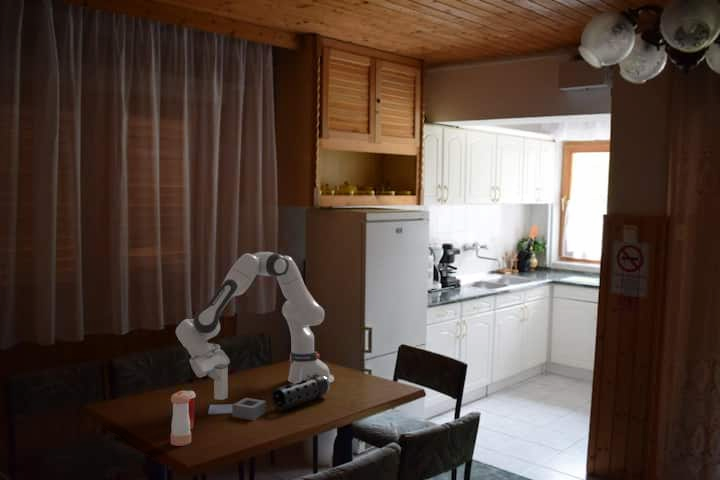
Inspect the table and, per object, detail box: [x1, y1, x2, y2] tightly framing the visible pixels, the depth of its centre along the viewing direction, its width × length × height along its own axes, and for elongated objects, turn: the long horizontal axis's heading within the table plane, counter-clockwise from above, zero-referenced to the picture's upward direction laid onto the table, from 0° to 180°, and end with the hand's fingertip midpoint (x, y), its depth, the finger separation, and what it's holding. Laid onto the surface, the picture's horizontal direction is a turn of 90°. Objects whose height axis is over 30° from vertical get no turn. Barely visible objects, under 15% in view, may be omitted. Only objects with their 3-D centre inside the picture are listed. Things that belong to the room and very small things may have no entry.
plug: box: [213, 364, 229, 401], centre depth 279 cm, size 4×4×14 cm
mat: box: [207, 403, 234, 415], centre depth 280 cm, size 10×10×1 cm
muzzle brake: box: [270, 375, 331, 412], centre depth 289 cm, size 10×28×10 cm, turn 141°
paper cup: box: [182, 390, 197, 431], centre depth 258 cm, size 8×8×14 cm
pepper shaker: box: [170, 390, 192, 447], centre depth 244 cm, size 7×7×19 cm
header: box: [231, 397, 267, 421], centre depth 274 cm, size 10×10×5 cm
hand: (222, 378), depth 278 cm, fingers closed on plug, 4 cm apart
